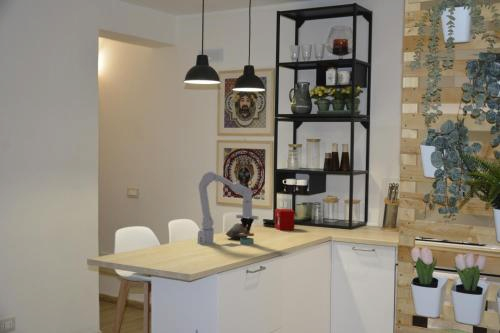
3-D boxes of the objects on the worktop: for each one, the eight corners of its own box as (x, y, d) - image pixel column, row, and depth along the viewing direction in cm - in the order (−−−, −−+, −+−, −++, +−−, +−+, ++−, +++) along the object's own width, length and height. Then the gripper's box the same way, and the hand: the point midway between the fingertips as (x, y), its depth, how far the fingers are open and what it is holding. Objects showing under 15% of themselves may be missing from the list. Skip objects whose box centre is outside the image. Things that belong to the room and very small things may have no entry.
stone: (255, 221, 396) (241, 223, 384) (256, 237, 396) (243, 240, 383) (233, 223, 407) (219, 225, 394) (234, 239, 406) (220, 241, 394)
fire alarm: (274, 228, 459) (274, 208, 458) (288, 227, 461) (288, 208, 460) (279, 230, 443) (279, 210, 442) (294, 230, 445) (294, 210, 444)
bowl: (247, 245, 369) (247, 239, 369) (237, 244, 375) (237, 238, 374) (256, 244, 375) (256, 238, 375) (246, 242, 380) (246, 237, 380)
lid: (249, 236, 368) (249, 228, 368) (236, 235, 373) (236, 227, 373) (256, 235, 376) (257, 227, 376) (244, 234, 381) (244, 226, 381)
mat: (232, 247, 362) (232, 246, 362) (220, 245, 368) (220, 244, 368) (243, 245, 369) (243, 245, 369) (231, 243, 376) (231, 243, 376)
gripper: (233, 208, 375) (233, 230, 375) (254, 209, 367) (253, 232, 367) (239, 207, 381) (239, 229, 381) (260, 208, 373) (259, 230, 373)
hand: (247, 230), depth 375 cm, fingers closed on lid
